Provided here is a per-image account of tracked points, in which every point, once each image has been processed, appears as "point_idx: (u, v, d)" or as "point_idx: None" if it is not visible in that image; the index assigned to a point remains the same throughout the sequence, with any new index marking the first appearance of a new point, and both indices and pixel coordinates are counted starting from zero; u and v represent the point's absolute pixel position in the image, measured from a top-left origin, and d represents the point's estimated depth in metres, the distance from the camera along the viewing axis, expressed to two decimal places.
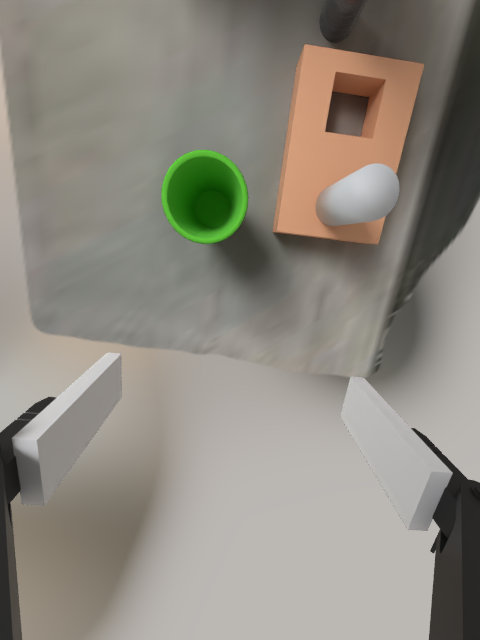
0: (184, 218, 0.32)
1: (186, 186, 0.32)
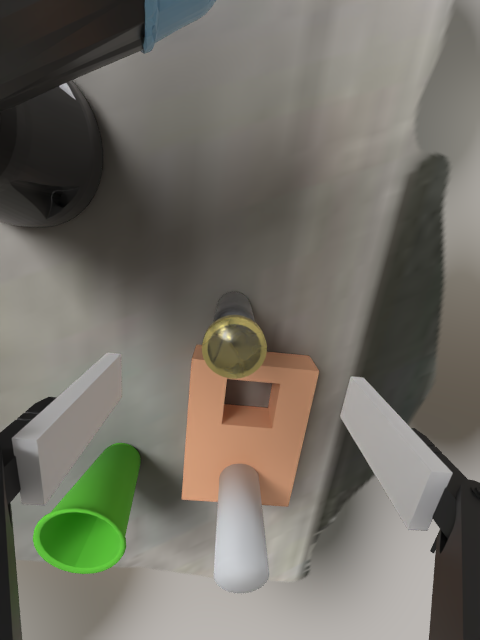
0: (75, 515, 0.31)
1: None
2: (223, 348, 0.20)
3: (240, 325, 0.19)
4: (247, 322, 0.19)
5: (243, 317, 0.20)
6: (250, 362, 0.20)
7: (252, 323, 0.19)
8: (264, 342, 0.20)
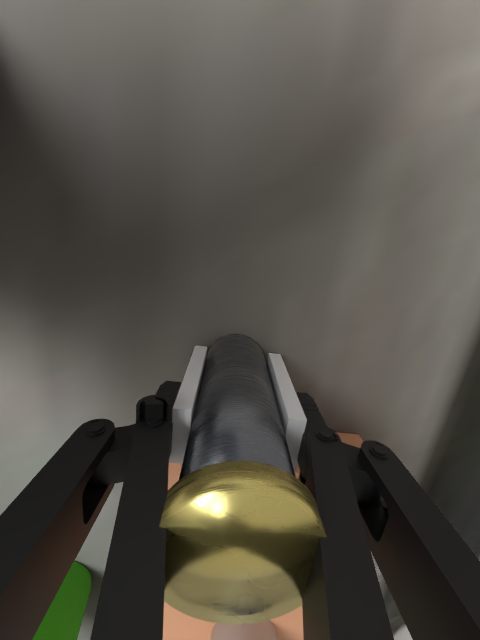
0: None
1: None
2: (206, 564, 0.07)
3: (256, 510, 0.06)
4: (278, 503, 0.06)
5: (264, 474, 0.07)
6: (282, 591, 0.07)
7: (292, 500, 0.06)
8: None
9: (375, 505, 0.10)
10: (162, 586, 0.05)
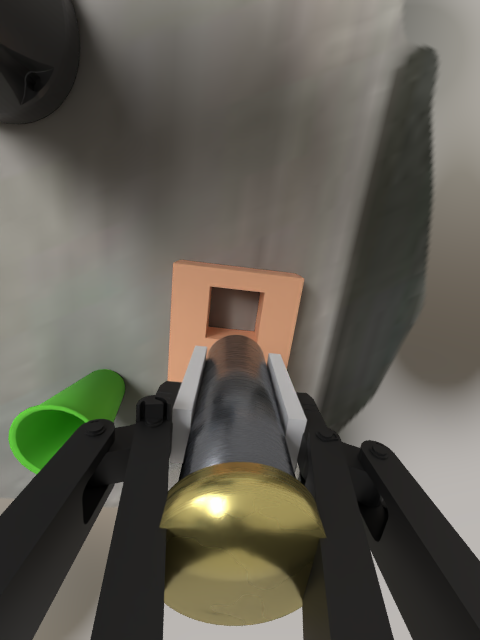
0: (56, 430, 0.30)
1: None
2: (206, 565, 0.07)
3: (257, 512, 0.06)
4: (278, 504, 0.06)
5: (264, 476, 0.07)
6: (282, 592, 0.07)
7: (292, 502, 0.06)
8: None
9: (375, 505, 0.10)
10: (162, 586, 0.05)
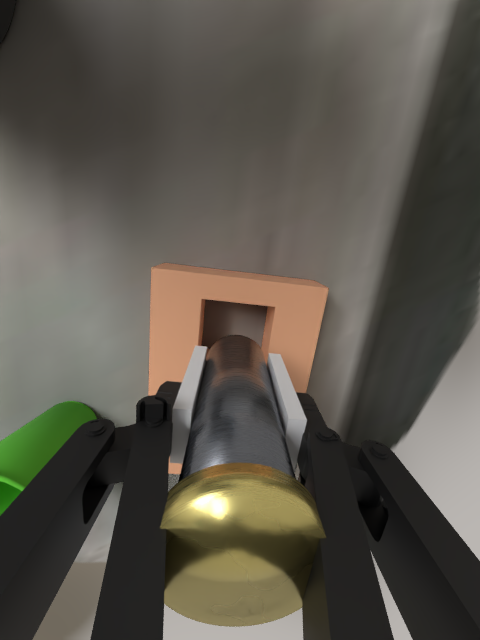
0: None
1: None
2: (206, 566, 0.07)
3: (256, 513, 0.06)
4: (278, 505, 0.06)
5: (264, 476, 0.07)
6: (282, 593, 0.07)
7: (292, 503, 0.06)
8: None
9: (375, 505, 0.10)
10: (162, 586, 0.05)
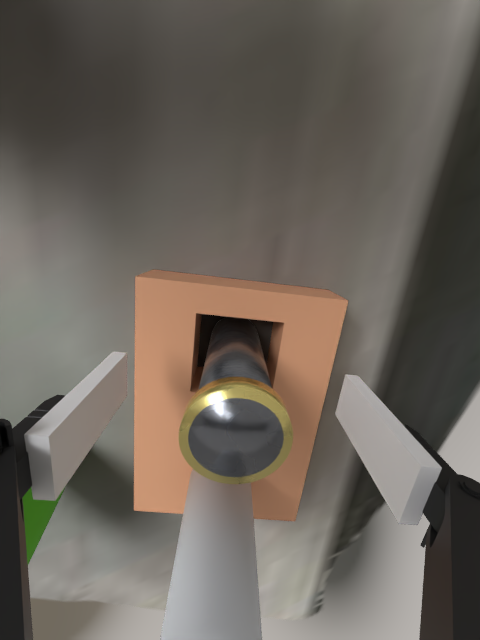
0: None
1: None
2: (216, 437, 0.11)
3: (246, 400, 0.11)
4: (259, 395, 0.11)
5: (251, 382, 0.11)
6: (263, 459, 0.12)
7: (268, 395, 0.11)
8: (289, 427, 0.11)
9: None
10: (21, 633, 0.05)
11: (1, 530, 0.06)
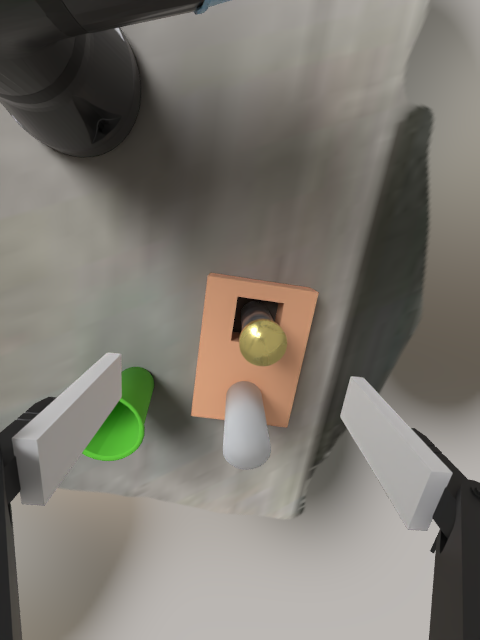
0: None
1: None
2: (255, 343, 0.27)
3: (268, 326, 0.26)
4: (274, 324, 0.26)
5: (270, 320, 0.27)
6: (274, 354, 0.27)
7: (277, 325, 0.26)
8: (285, 339, 0.27)
9: None
10: None
11: None
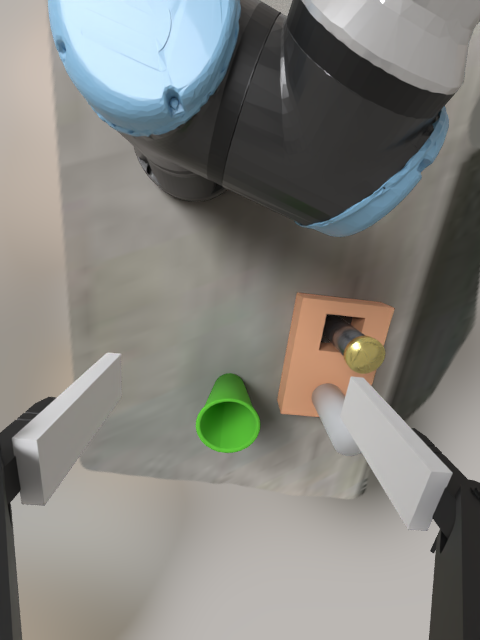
0: (209, 418, 0.42)
1: (211, 395, 0.41)
2: (359, 355, 0.33)
3: (371, 342, 0.33)
4: (375, 340, 0.33)
5: (371, 337, 0.33)
6: (374, 363, 0.34)
7: (378, 341, 0.33)
8: (384, 352, 0.33)
9: None
10: None
11: None
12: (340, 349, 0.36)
